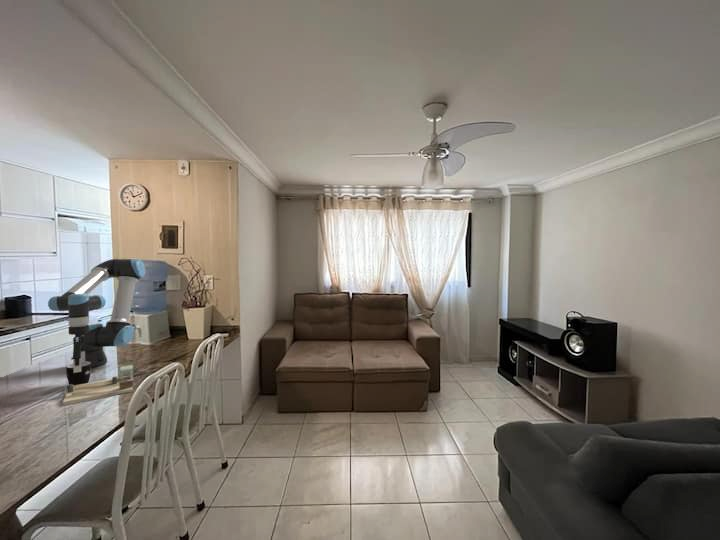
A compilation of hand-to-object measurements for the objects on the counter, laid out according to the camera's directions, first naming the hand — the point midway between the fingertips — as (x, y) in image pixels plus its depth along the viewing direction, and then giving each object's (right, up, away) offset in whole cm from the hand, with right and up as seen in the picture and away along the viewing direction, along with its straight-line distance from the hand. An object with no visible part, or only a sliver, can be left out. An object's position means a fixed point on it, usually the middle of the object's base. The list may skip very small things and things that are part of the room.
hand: (79, 368), depth 154 cm
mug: (0, -8, +1) cm, 8 cm away
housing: (+20, -6, +4) cm, 22 cm away
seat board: (+17, -8, -7) cm, 20 cm away
